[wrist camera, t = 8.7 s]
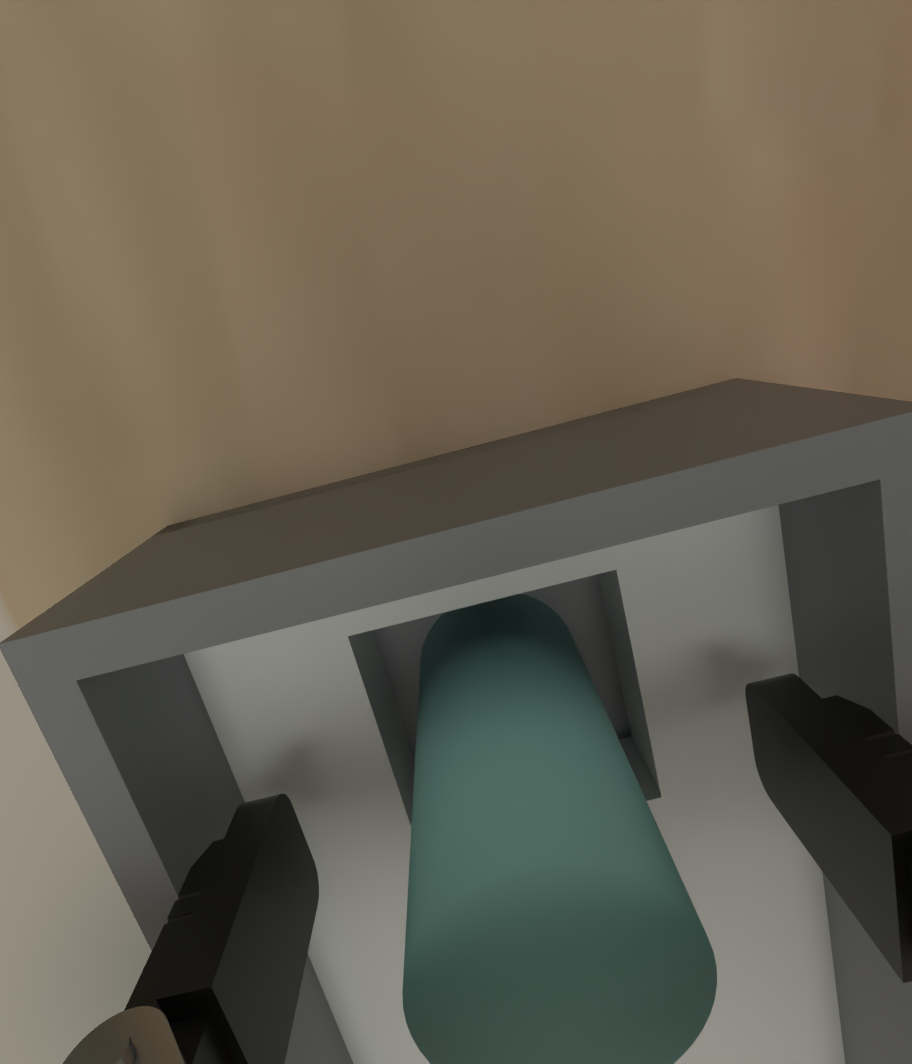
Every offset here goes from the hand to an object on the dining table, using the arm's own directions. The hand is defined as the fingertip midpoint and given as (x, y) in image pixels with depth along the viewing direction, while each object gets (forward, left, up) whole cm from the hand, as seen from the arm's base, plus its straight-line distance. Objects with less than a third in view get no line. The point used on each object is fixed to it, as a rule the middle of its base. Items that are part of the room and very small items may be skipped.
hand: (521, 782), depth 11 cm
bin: (-4, +4, -5) cm, 8 cm away
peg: (0, 0, -4) cm, 4 cm away
